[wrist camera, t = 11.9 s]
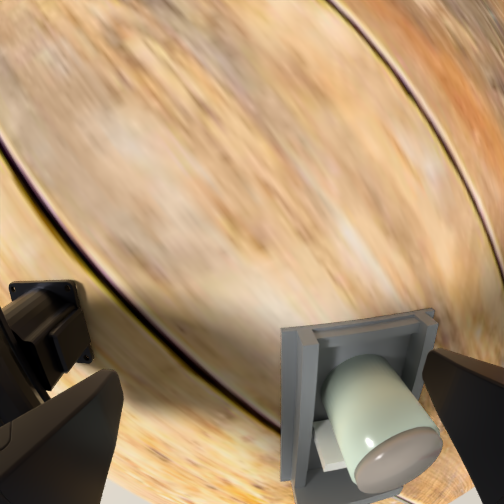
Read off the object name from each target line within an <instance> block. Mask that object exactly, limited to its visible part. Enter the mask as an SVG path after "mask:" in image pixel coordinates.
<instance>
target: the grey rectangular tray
mask: <svg viewBox="0 0 504 504" xmlns="http://www.w3.org/2000/svg"><path fill="white" fill-rule="evenodd" d="M434 311H435V310H433V309H432V308H428V309H423V310H417V311H412V312H406V313H400V314H394V315H387V316H381V317H374V318H367V319H360V320H352V321H345V322H337V323H328V324H319V325H310V326H301V327H290V328H281V454H280V481H290V480H291V485H292V490H293V495H294V500H295V504H370V503H373V502H377V501H380V500H383V499H386V498H389V497H392V496H395V495H398V494H400V492H401V490H402V489H403V485H402V486H400V487H398V488H395V489H393V490H390V491H386V492H382V493H375V494H369V493H364V492H362V491H360V490H359V488H358V486H357V484H355V483H354V482H353V481H352V480H351V477H350V474H349V471H348V469H347V467H346V468H342V469H337V470H332V471H327V472H324V471H323V468H322V464H321V461H320V458H319V454H318V451H317V448H316V444H315V441H314V438H313V434H312V427H313V422H316V421H322V420H328V419H329V418H328V416H327V413H326V411H325V408H324V405H323V403H322V400H321V388H322V385H323V382H324V380H325V379H326V377H327V376H328V375H329V373H330V372H331V371H332V370H333V369H334V368H335V367H337V366H338V365H339V364H341V363H342V362H344V361H346V360H347V359H350V358H352V357H355V356H358V355H362V354H375V355H379V356H381V357H383V358H385V359H386V360H387V361H388V363H389V364H390V365H391V366H392V368H393V369H394V370H395V372H396V373H397V374H398V375H399V377H400V378H401V379H402V381H403V382H404V383H405V385H406V386H407V387H408V389H409V390H410V391H411V393H412V394H413V395H414V397H415V398H416V399H417V401H418V400H419V397H420V394H421V391H422V388H423V384H424V382H423V379H422V371H423V368H424V364H425V361H426V357H427V354H428V352H429V351H430V350H433V347H434V343H435V338H436V334H437V329H438V324H439V323H437V322H436V321H435V320H434V319H433V317H434Z"/></svg>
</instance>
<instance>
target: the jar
mask: <svg viewBox="0 0 504 504" xmlns="http://www.w3.org/2000/svg"><path fill="white" fill-rule="evenodd" d="M321 400H322V403H323V405H324V408H325V411H326V413H327V416H328V418H329V421H330V424H331V426H332V429H333V432H334V434H335V437H336V440H337V442H338V445H339V447H340V450H341V453H342V455H343V458H344V461H345V463H346V466H347V469H348V471H349V474H350V477H351V480H352V481H353V482H354V483H355V484H357V486H358V488H359V490H360V491H362V492H364V493H369V494H375V493H382V492H386V491H390V490H393V489H395V488H398V487H400V486H402V485H404V484H406V483H408V482H410V481H412V480H413V479H415V478H416V477H418V476H419V475H420V474H422V473H423V472H424V471H425V470H426V469H428V468H429V467H430V466H431V465H432V463H433V462H434V461H435V460H436V459H437V457H438V456H439V454H440V452H441V450H442V447H443V441H442V439H441V438H440V432H439V429H438V428H437V426H436V425H435V423H434V422H433V421H432V419H431V418H430V417H429V415H428V414H427V413H426V411H425V410H424V409H423V407H422V406H421V405H420V403H419V402H418V401H417V399H416V398H415V397H414V395H413V394H412V393H411V391H410V390H409V389H408V387H407V386H406V385H405V383H404V382H403V381H402V379H401V378H400V377H399V375H398V374H397V373H396V372H395V370H394V369H393V368H392V366H391V365H390V364H389V363H388V361H387V360H386V359H385V358H383V357H381V356H379V355H375V354H362V355H358V356H355V357H352V358H350V359H347V360H346V361H344V362H342V363H341V364H339V365H338V366H337V367H335V368H334V369H333V370H332V371H331V372H330V373H329V375H328V376H327V377H326V379H325V380H324V382H323V385H322V388H321Z"/></svg>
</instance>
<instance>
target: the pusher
mask: <svg viewBox="0 0 504 504" xmlns="http://www.w3.org/2000/svg"><path fill="white" fill-rule="evenodd" d="M312 434H313V438H314V441H315V444H316V448H317V451H318V454H319V458H320V461H321V464H322V468H323V471H324V472H327V471H332V470H337V469H342V468H346V467H347V466H346V463H345V461H344V458H343V455H342V453H341V450H340V447H339V445H338V442H337V440H336V437H335V434H334V432H333V429H332V426H331V424H330V421H329V419H328V420H322V421H316V422H313V427H312Z"/></svg>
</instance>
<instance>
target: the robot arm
mask: <svg viewBox="0 0 504 504" xmlns="http://www.w3.org/2000/svg"><path fill="white" fill-rule="evenodd" d="M67 285H68V286H69V287H70V290H69V289H68V288H67ZM14 288H15V289H14ZM9 291H10V295H11V299H12V302H11V303H9V304H8V305H6V306H5V307H4V308H2V309H1V307H0V504H100V501H101V497H102V493H103V490H104V485H105V482H106V478H107V475H108V471H109V467H110V464H111V460H112V457H113V453H114V450H115V446H116V441H117V435H118V429H119V423H120V418H121V412H122V407H123V401H124V396H123V391H122V388H121V384H120V380H119V377H118V374H117V372H116V371H115V370H108V369H101V370H100V371H98V372H96V373H94V374H93V375H91V376H89V377H88V378H86V379H84V380H83V381H81V382H79V383H77V384H76V385H74V386H72V387H71V388H69V389H67V390H65V391H64V392H62V393H60V394H58V395H57V396H55V397H53V398H52V399H51V398H50V396H49V395H48V393H47V392H46V391H51V390H52V389H53V388H54V386H55V385H56V383H57V382H58V381H59V379H60V378H61V377H62V375H63V374H64V373H68V372H69V371H70V369H71V368H72V366H73V365H74V364H75V363H87V364H89V363H91V362H92V361H93V359H94V354H93V351H92V348H91V345H90V342H91V341H90V337H89V334H88V330H87V326H86V323H85V319H84V315H83V311H82V310H81V308H80V303H79V299H78V295H77V290H76V286H75V284H74V282H73V281H71V280H46V281H14V282H12V283H10V284H9ZM86 355H87V356H88V357H89V358H87V357H86ZM422 379H423V382H424V384H425V386H426V388H427V391H428V393H429V395H430V397H431V400H432V402H433V404H434V407H435V409H436V411H437V414H438V416H439V418H440V420H441V422H442V423H443V425H444V427H445V429H446V431H447V432H448V434H449V436H450V438H451V440H452V442H453V444H454V446H455V448H456V449H457V451H458V453H459V455H460V457H461V459H462V461H463V463H464V465H465V467H466V469H467V471H468V473H469V475H470V477H471V479H472V481H473V484H474V486H475V488H476V490H477V492H478V494H479V496H480V498H481V501H482V503H483V504H504V368H502V367H499V366H496V365H493V364H490V363H486V362H483V361H480V360H477V359H474V358H471V357H467V356H464V355H461V354H458V353H455V352H452V351H449V350H446V349H443V348H437V349H433V350H430V351H429V352H428V354H427V357H426V361H425V364H424V368H423V371H422Z"/></svg>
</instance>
